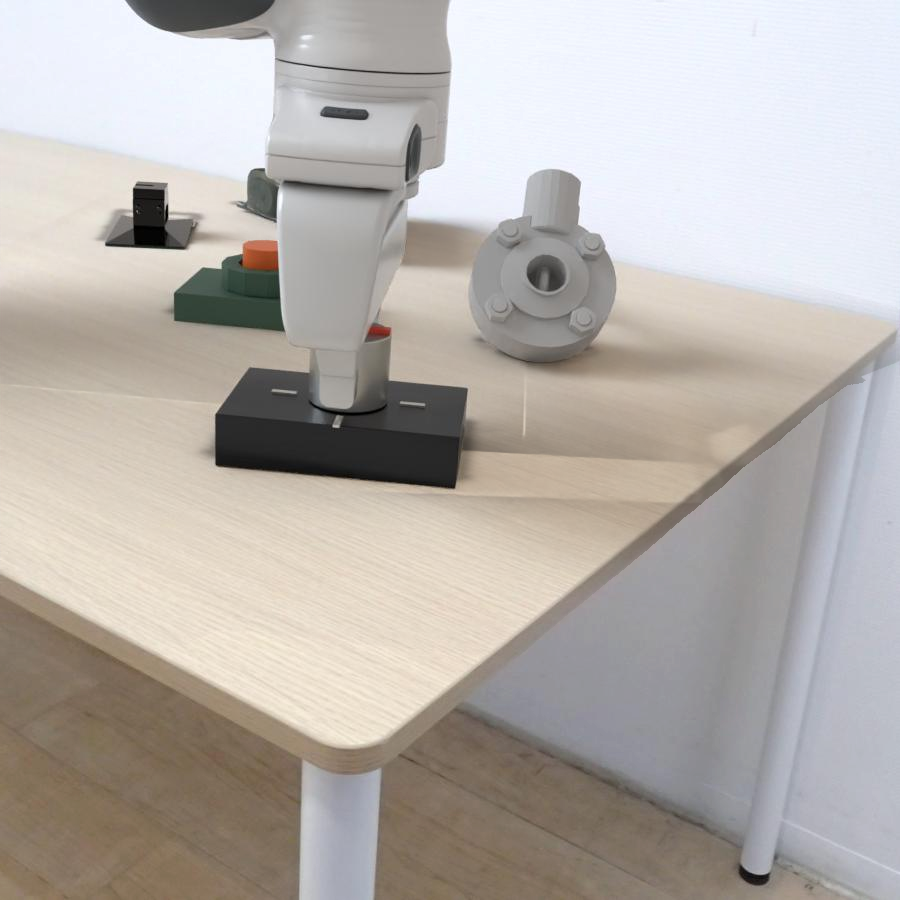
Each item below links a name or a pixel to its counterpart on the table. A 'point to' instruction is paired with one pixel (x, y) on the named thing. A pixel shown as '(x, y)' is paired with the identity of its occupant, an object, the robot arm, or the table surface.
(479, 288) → the mechanical valve
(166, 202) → the build plate
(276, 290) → the button box
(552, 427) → the table surface
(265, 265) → the button
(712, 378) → the table surface
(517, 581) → the table surface
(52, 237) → the table surface
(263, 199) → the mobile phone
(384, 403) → the knob
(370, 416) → the dial panel
